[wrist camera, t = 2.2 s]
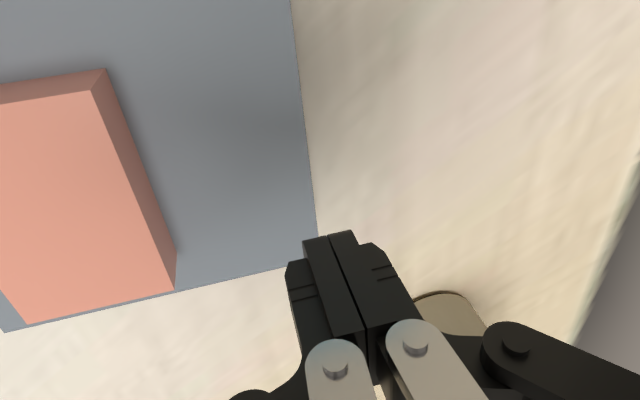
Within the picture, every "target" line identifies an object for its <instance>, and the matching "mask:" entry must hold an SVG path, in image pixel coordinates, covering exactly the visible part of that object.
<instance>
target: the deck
mask: <svg viewBox="0 0 640 400" xmlns="http://www.w3.org/2000/svg"><path fill="white" fill-rule="evenodd" d="M102 68H105V69H106V71H107V74H108V77H109V79H110V82H111V84H112V87H113V89H114V92H115V95H116V97H117V100H118V102H119V105H120V107H121V110H122V113H123V115H124V118H125V120H126V123H127V125H128V128H129V131H130V133H131V136H132V138H133V141H134V144H135V146H136V149H137V151H138V154H139V156H140V159H141V162H142V164H143V167H144V169H145V172H146V174H147V177H148V180H149V182H150V185H151V187H152V190H153V192H154V195H155V198H156V200H157V203H158V205H159V208H160V210H161V213H162V216H163V218H164V221H165V223H166V226H167V228H168V231H169V234H170V236H171V239H172V241H173V244H174V246H175V249H176V252H177V263H176V277H175V290H173V291H169V292H164V293H160V294H156V295H152V296H147V297H143V298H139V299H135V300H130V301H126V302H122V303H118V304H113V305H109V306H105V307H101V308H96V309H92V310H88V311H84V312H79V313H75V314H71V315H67V316H62V317H58V318H54V319H50V320H45V321H41V322H37V323H33V324H28V325H27V324H26V322H25V321H24V320H23V318H22V317H21V316H20V315H19V313H18V312H17V311H16V309H15V308H14V307H13V306H12V304H11V303H10V302H9V300H8V299H7V298H6V296H5V295H4V294H3V293H2V291H1V290H0V328H1V329H2V331H3V332H4V333H7V332H11V331H16V330H20V329H24V328H28V327H33V326H37V325H41V324H45V323H50V322H54V321H58V320H62V319H66V318H71V317H75V316H79V315H83V314H88V313H92V312H96V311H100V310H105V309H109V308H113V307H117V306H121V305H126V304H130V303H134V302H138V301H143V300H147V299H151V298H155V297H160V296H164V295H168V294H172V293H176V292H181V291H185V290H189V289H193V288H198V287H202V286H206V285H210V284H215V283H219V282H223V281H227V280H232V279H236V278H240V277H244V276H248V275H253V274H257V273H261V272H265V271H270V270H274V269H278V268H282V267H287V265H288V262H290V261H294V260H298V259H303V258H304V255H303V249H302V241H303V240H307V239H312V238H316V237H318V230H317V221H316V213H315V205H314V196H313V188H312V180H311V172H310V163H309V155H308V147H307V138H306V130H305V122H304V114H303V105H302V97H301V89H300V81H299V72H298V64H297V56H296V47H295V39H294V31H293V23H292V14H291V6H290V0H0V84H5V83H11V82H18V81H24V80H31V79H37V78H44V77H50V76H57V75H63V74H70V73H76V72H83V71H89V70H95V69H102Z"/></svg>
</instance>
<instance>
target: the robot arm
mask: <svg viewBox="0 0 640 400" xmlns="http://www.w3.org/2000/svg"><path fill="white" fill-rule="evenodd" d="M302 249H303V255H304V258H303V259H298V260H294V261H290V262H288V265H287V269H286V272H285V275H284V276H285V281H286V286H287V291H288V296H289V301H290V307H291V312H292V316H293V320H294V324H295V328H296V333H297V337H298V341H299V345H300V350H301V354H302V360H301V363H300V366H299V368H298V370H297V371H296V373H295V374H294V375H293V377H291V378H290V379H289V380H288V381H287V382H286V383H284V384H283V385H281V386H280V387H278V388H277V389H275V390H274V391H272V392H271V393H268V392H266V391H263V390H257V389H254V390H247V391H243V392H241V393H238V394H237V395H235V396H233V397H232V398H231V399H229V400H377V398H376V394H375V391H374V387H373V386H375V385H379V384H380V385H381V387H382V390H383V392H384V395H385V397H386V400H640V375H638V374H636V373H634V372H631V371H629V370H627V369H624V368H622V367H620V366H617V365H615V364H613V363H611V362H608V361H606V360H604V359H601V358H599V357H597V356H594V355H592V354H590V353H587V352H585V351H583V350H580V349H578V348H576V347H574V346H571V345H569V344H567V343H564V342H562V341H560V340H557V339H555V338H553V337H550V336H548V335H546V334H543V333H541V332H539V331H537V330H534V329H532V328H530V327H527V326H525V325H522V324H519V323H515V322H509V321H507V322H498V323H495V324H493V325H491V326H489V327H488V328H487V329H486V331H485V332H484V335H483V336H462V335H451V334H447V333H444V332H441V331H439V329H437V328H436V327H435V326H434V325H432V324H430V323H428V322H426V321H425V320H424V319H423V317H422V316H421V314H420V313H419V311H418V309H417V307H416V306H415V304H414V302H413V300H412V299H411V297H410V295H409V294H408V292H407V290H406V288H405V287H404V285H403V283H402V281H401V280H400V278H399V277H398V274H397V273H396V271H395V269H394V267H392V264H391V262H390V261H389V259H388V257H387V255H386V254H385V252H384V251H383V250H381V249H380V248H379V247H377V246H376V245H374V244H373V243H372V242H371V243H366V244H362V245H359V244H358V242H357V240H356V238H355V236H354V234H353V232H352V231H351V230H346V231H342V232H338V233H333V234H329V235H327V237H326V236H320V237H316V238H312V239H307V240H303V241H302Z"/></svg>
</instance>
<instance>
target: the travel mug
mask: <svg viewBox="0 0 640 400" xmlns="http://www.w3.org/2000/svg"><path fill="white" fill-rule="evenodd" d="M414 304H415V306H416V307H417V309H418V311H419V313H420V314H421V316H422V317H423V319H424V320H425V321H426V322H428V323H430V324H432V325H434V326H435V327H436V328H437V329H439V331H441V332H444V333H447V334H451V335H462V336H483V335H484V332H485V331H486V329H487V327H486V326H485V324H484V323H483V321H482V320H481V319H480V317H479V316H478V315H477V313H476V312H475V310H474V309H473V308H472V306H471V305H470V303H469V302H468V301H467V300H466V299H465V298H463V297H461V296H459V295H455V294H438V295H433V296H429V297H426V298H423V299H421V300H419V301H416V302H415V303H414Z"/></svg>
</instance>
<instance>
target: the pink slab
mask: <svg viewBox="0 0 640 400" xmlns="http://www.w3.org/2000/svg"><path fill="white" fill-rule="evenodd" d="M176 263H177V252H176V249H175V246H174V244H173V241H172V239H171V236H170V234H169V231H168V228H167V226H166V223H165V221H164V218H163V216H162V213H161V210H160V208H159V205H158V203H157V200H156V198H155V195H154V192H153V190H152V187H151V185H150V182H149V180H148V177H147V174H146V172H145V169H144V167H143V164H142V162H141V159H140V156H139V154H138V151H137V149H136V146H135V144H134V141H133V138H132V136H131V133H130V131H129V128H128V125H127V123H126V120H125V118H124V115H123V113H122V110H121V107H120V105H119V102H118V100H117V97H116V95H115V92H114V89H113V87H112V84H111V82H110V79H109V77H108V74H107V71H106V69H105V68H102V69H95V70H89V71H83V72H76V73H70V74H63V75H57V76H50V77H44V78H37V79H31V80H24V81H18V82H11V83H5V84H0V290H1V291H2V293H3V294H4V295H5V296H6V298H7V299H8V300H9V302H10V303H11V304H12V306H13V307H14V308H15V309H16V311H17V312H18V313H19V315H20V316H21V317H22V318H23V320H24V321H25V322H26V324H27V325H28V324H33V323H37V322H41V321H45V320H50V319H54V318H58V317H62V316H67V315H71V314H75V313H79V312H84V311H88V310H92V309H96V308H101V307H105V306H109V305H113V304H118V303H122V302H126V301H130V300H135V299H139V298H143V297H147V296H152V295H156V294H160V293H164V292H169V291H173V290H175V277H176Z"/></svg>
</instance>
